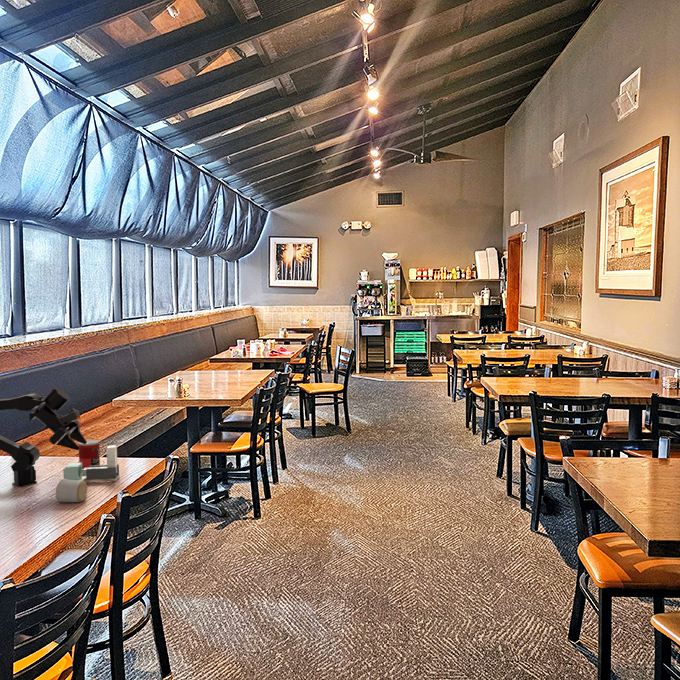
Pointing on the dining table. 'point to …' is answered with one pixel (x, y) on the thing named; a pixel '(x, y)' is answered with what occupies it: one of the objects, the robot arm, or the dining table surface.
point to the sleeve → (101, 473)
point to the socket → (73, 471)
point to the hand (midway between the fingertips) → (82, 446)
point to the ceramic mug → (71, 491)
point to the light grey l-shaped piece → (108, 459)
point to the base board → (96, 480)
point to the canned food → (89, 453)
